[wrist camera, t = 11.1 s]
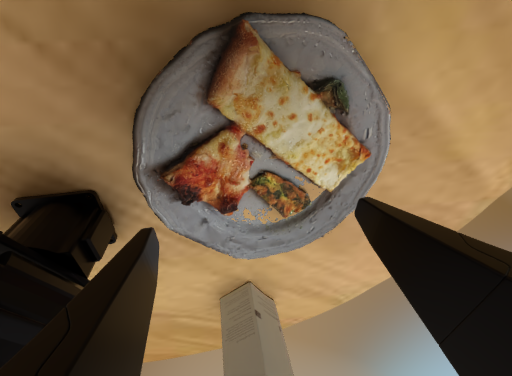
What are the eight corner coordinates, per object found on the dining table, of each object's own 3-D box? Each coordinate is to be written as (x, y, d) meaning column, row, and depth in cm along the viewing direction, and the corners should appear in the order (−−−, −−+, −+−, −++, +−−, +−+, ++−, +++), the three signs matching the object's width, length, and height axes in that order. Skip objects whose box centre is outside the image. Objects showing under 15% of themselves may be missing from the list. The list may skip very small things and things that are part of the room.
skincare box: (274, 299, 38) (312, 422, 25) (245, 316, 38) (268, 443, 26) (247, 279, 33) (277, 416, 21) (215, 299, 34) (225, 442, 22)
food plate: (85, 179, 20) (68, 201, 17) (263, -81, 14) (282, -112, 11) (270, 263, 33) (278, 284, 30) (401, 148, 27) (426, 161, 24)
